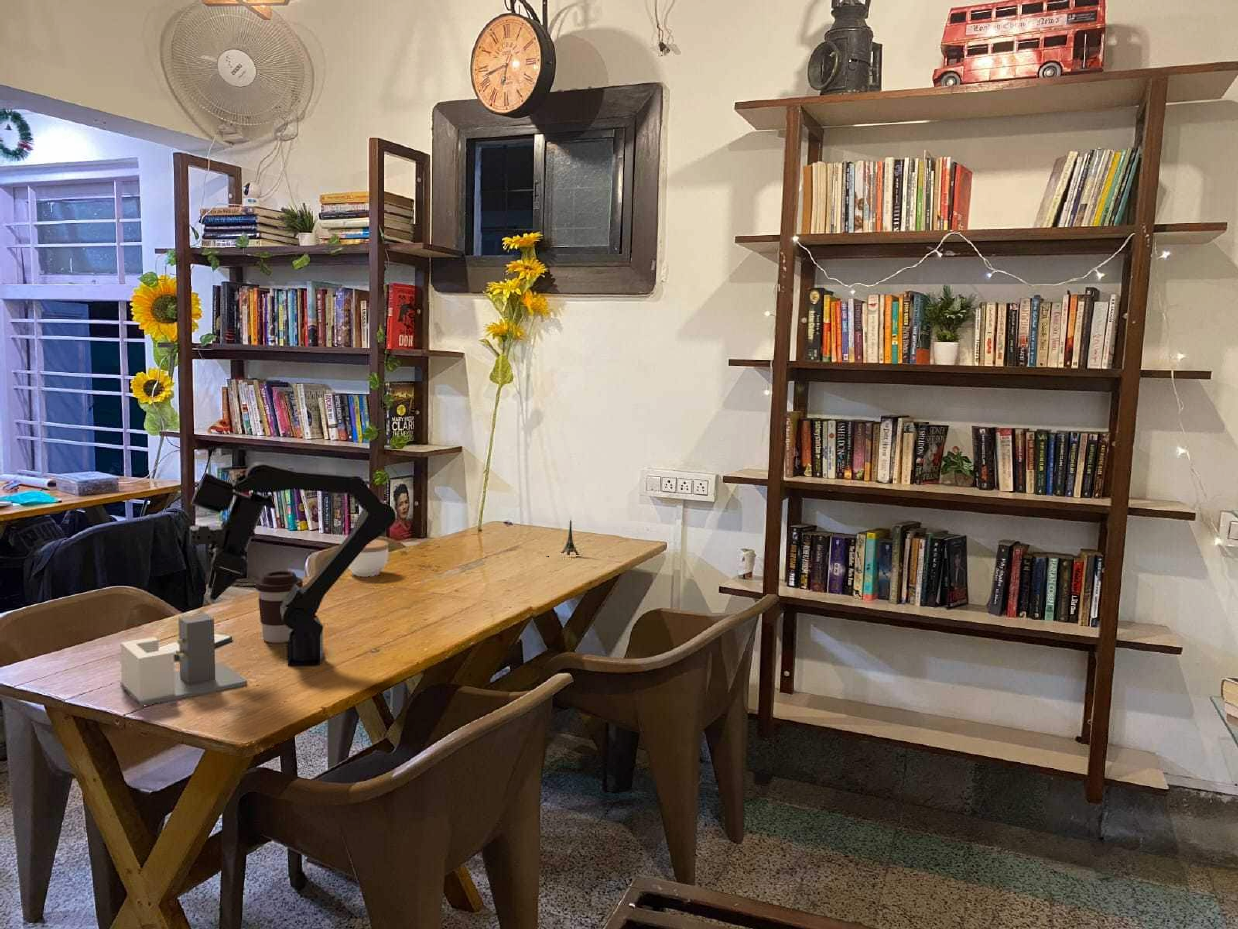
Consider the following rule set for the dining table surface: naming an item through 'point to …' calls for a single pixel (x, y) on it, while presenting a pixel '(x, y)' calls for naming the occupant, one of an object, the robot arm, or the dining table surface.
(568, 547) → the eiffel tower figurine
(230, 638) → the smartphone
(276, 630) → the coffee cup
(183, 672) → the plug
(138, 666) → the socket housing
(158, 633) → the dining table surface
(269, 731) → the dining table surface
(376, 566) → the lidded bowl
